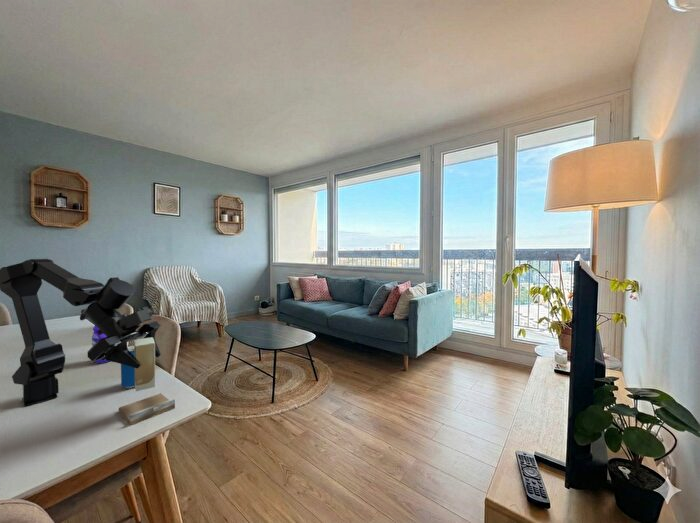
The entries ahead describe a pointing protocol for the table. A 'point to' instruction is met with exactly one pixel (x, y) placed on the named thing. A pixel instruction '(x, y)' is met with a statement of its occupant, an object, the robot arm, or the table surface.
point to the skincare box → (145, 363)
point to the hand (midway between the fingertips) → (149, 361)
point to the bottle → (95, 339)
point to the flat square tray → (146, 408)
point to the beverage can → (128, 372)
